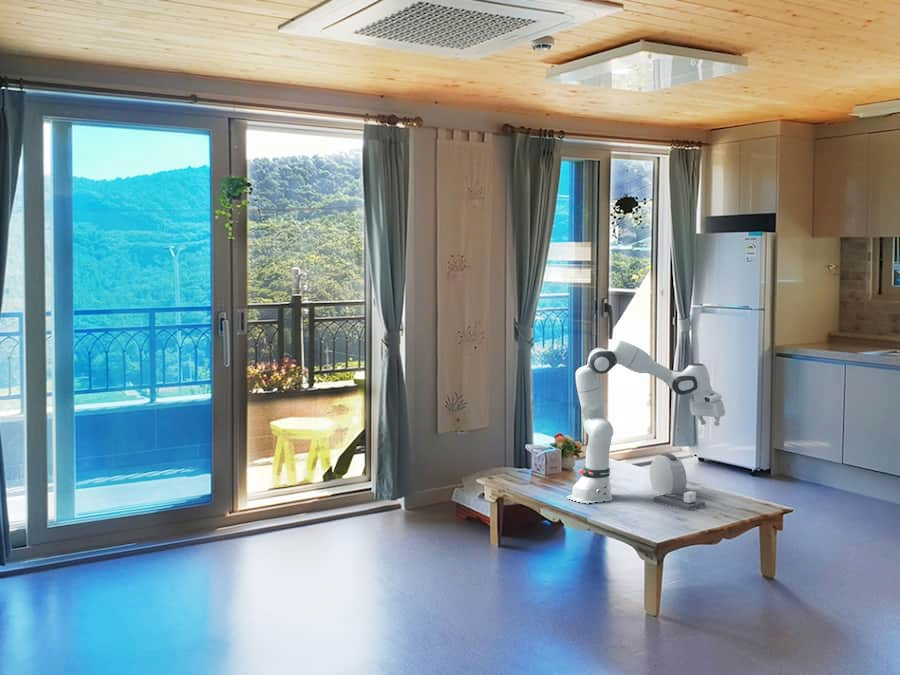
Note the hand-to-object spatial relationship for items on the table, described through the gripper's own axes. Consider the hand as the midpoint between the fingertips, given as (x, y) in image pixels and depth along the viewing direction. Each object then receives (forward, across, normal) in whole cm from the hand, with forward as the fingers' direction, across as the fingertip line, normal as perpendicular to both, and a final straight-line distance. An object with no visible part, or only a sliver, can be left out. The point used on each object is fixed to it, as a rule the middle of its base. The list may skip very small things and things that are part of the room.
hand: (710, 424), depth 408 cm
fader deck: (+32, -6, -24) cm, 40 cm away
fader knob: (+31, 0, -22) cm, 38 cm away
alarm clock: (+32, -23, -16) cm, 42 cm away
